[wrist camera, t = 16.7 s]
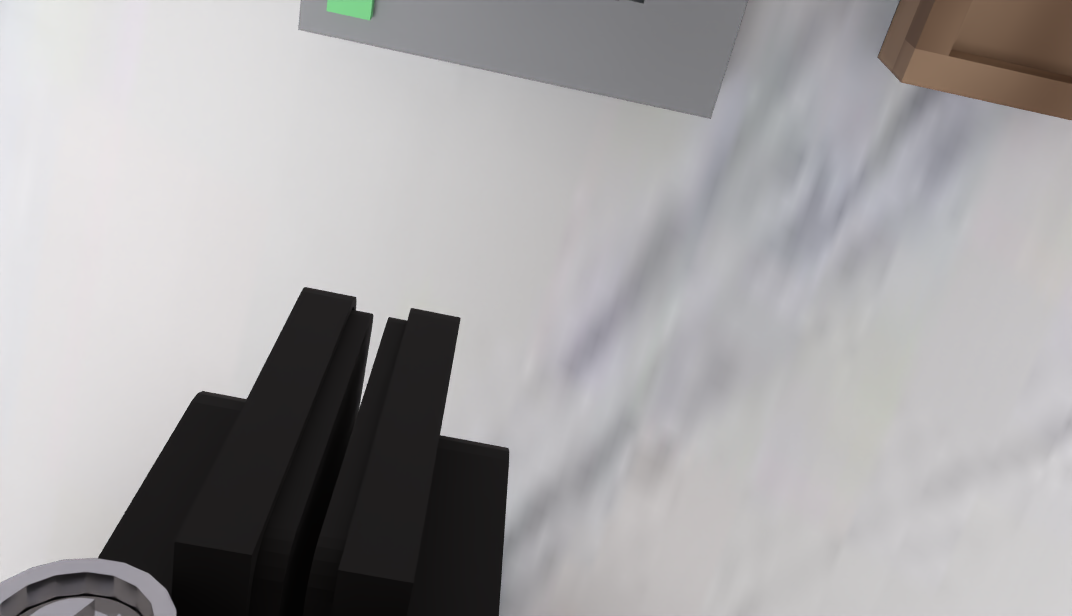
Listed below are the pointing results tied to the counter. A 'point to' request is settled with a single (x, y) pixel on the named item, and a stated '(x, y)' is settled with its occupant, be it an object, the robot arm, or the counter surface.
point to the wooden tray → (986, 50)
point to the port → (558, 41)
